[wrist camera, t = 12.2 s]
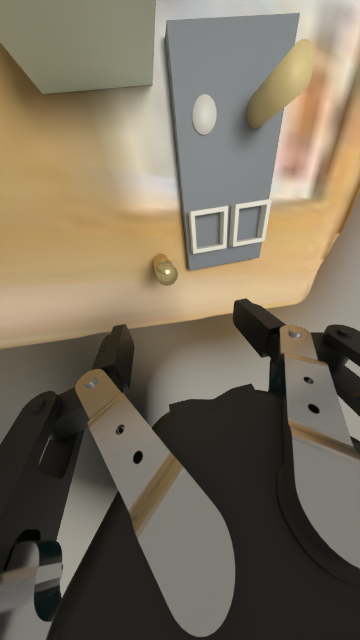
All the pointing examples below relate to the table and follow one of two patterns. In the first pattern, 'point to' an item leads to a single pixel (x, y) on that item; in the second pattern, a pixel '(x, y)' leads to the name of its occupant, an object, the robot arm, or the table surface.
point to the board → (231, 125)
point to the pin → (164, 270)
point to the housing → (80, 42)
